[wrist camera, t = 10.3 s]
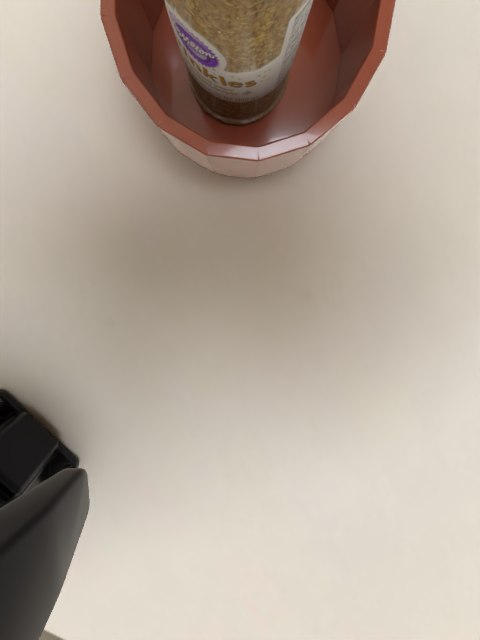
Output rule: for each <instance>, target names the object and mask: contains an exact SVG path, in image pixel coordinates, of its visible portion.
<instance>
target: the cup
mask: <svg viewBox="0 0 480 640" xmlns="http://www.w3.org/2000/svg"><path fill="white" fill-rule="evenodd" d="M395 1H396V0H313V3H312V6H311V9H310V12H309V15H308V18H307V21H306V24H305V27H304V31H303V34H302V37H301V40H300V43H299V46H298V49H297V52H296V55H295V58H294V61H293V63H292V65H291V68H290V70H289V77H288V82H287V86H286V88H285V90H284V93H283V96H282V99H281V100H280V101H279V103H278V104H277V105H276V106H275V108H274V109H273V110H272V111H271V112H270V113H269V114H267V115H266V116H264V117H263V118H261V119H260V120H258V121H256V122H253V123H250V124H247V125H236V124H227V123H224V122H222V121H220V120H217V119H215V118H213V117H212V116H211V115H210V114H208V113H207V112H206V111H205V110H204V109H203V108H202V107H201V105H200V103H199V102H198V100H197V99H196V97H195V95H194V94H193V91H192V88H191V86H190V83H189V79H188V71H187V69H188V68H187V67H186V65H185V63H184V60H183V57H182V55H181V52H180V49H179V46H178V43H177V40H176V37H175V34H174V30H173V27H172V24H171V21H170V18H169V15H168V12H167V8H166V5H165V0H101V14H100V15H101V20H102V23H103V26H104V29H105V32H106V35H107V38H108V41H109V44H110V48H111V51H112V54H113V57H114V60H115V63H116V66H117V69H118V72H119V75H120V78H121V79H122V82H123V83H124V84H125V85H126V87H127V88H128V89H129V91H130V92H131V93H132V94H133V96H134V97H135V98H136V100H137V101H138V102H139V103H140V105H141V106H142V107H143V109H144V110H145V111H146V112H147V114H148V115H149V116H150V118H151V119H152V120H153V121H154V123H155V124H156V125H157V127H158V128H159V129H160V130H161V131H162V132H163V133H164V135H165V136H166V137H167V138H168V139H169V140H170V141H171V143H172V144H173V145H174V146H175V147H176V148H177V150H178V151H179V152H181V154H183V155H185V156H186V157H188V158H190V159H191V160H193V161H194V162H196V163H197V164H199V165H201V166H203V167H205V168H207V169H209V170H210V171H212V172H214V173H217V174H222V175H228V176H233V177H251V178H253V177H258V176H263V175H267V174H272V173H274V172H277V171H279V170H282V169H284V168H288V167H291V166H292V165H294V164H295V163H296V162H297V161H298V160H300V159H301V158H302V157H303V156H305V155H306V154H307V153H308V152H309V151H310V150H312V149H313V148H314V147H315V146H316V145H318V144H319V143H320V142H321V141H322V140H323V139H324V138H325V137H326V136H327V135H328V134H329V133H330V132H331V131H333V130H334V129H335V128H336V127H337V126H338V125H339V124H340V123H341V122H342V121H343V120H344V119H345V118H346V117H347V116H348V115H349V114H350V113H351V112H352V111H353V109H354V108H355V107H356V105H357V104H358V102H359V100H360V98H361V96H362V95H363V93H364V91H365V89H366V88H367V86H368V84H369V82H370V81H371V79H372V77H373V75H374V74H375V72H376V70H377V68H378V66H379V65H380V63H381V61H382V59H383V58H384V56H385V53H386V49H387V44H388V38H389V33H390V28H391V22H392V17H393V11H394V6H395Z"/></svg>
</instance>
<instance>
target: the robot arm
mask: <svg viewBox="0 0 480 640" xmlns="http://www.w3.org/2000/svg"><path fill="white" fill-rule="evenodd" d="M0 399H1V400H2V402H0V640H39V638H40V636H41V634H42V632H43V629H44V627H45V625H46V623H47V621H48V618H49V616H50V614H51V612H52V610H53V608H54V605H55V603H56V601H57V598H58V596H59V594H60V591H61V589H62V586H63V583H64V580H65V578H66V575H67V572H68V569H69V566H70V563H71V560H72V558H73V555H74V552H75V549H76V546H77V543H78V540H79V537H80V535H81V532H82V529H83V526H84V523H85V520H86V517H87V514H88V510H89V490H88V478H87V473H86V471H85V470H84V469H82V468H77V467H78V465H79V463H78V460H77V459H76V458H75V457H74V456H73V455H72V454H71V453H70V452H69V451H68V450H67V449H66V448H65V447H64V446H63V445H62V444H61V443H60V442H59V441H57V440H56V439H55V438H54V437H53V436H52V435H51V434H50V433H49V432H48V431H47V430H46V429H45V428H44V427H43V426H42V425H41V424H40V423H39V422H38V421H37V420H35V419H34V418H33V417H32V416H31V415H30V414H29V413H28V412H27V411H26V410H25V409H24V408H23V407H22V406H21V405H20V404H19V403H18V402H17V401H16V400H14V399H13V398H12V397H11V396H10V395H9V394H8V393H7V392H5V391H3V390H0ZM66 463H67V464H70V465H71V466H72V467H70V466H68V465H67V464H66Z"/></svg>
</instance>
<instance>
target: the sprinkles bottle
mask: <svg viewBox="0 0 480 640" xmlns="http://www.w3.org/2000/svg"><path fill="white" fill-rule="evenodd" d="M312 3H313V0H165V5H166V8H167V12H168V15H169V18H170V21H171V24H172V27H173V30H174V34H175V37H176V40H177V43H178V46H179V49H180V52H181V55H182V57H183V60H184V63H185V65H186V67H187V68H188V69H187V71H188V79H189V83H190V86H191V88H192V91H193V94H194V95H195V97H196V99H197V100H198V102H199V103H200V105H201V107H202V108H203V109H204V110H205V111H206V112H207V113H208V114H210V115H211V116H212V117H213V118H215V119H217V120H220V121H222V122H224V123H227V124H236V125H247V124H250V123H253V122H256V121H258V120H260V119H261V118H263V117H264V116H266V115H267V114H269V113H270V112H271V111H272V110H273V109H274V108H275V106H276V105H277V104H278V103H279V101H280V100H281V99H282V96H283V93H284V90H285V88H286V86H287V82H288V77H289V70H290V68H291V65H292V63H293V61H294V58H295V55H296V52H297V49H298V46H299V43H300V40H301V37H302V34H303V31H304V27H305V24H306V21H307V18H308V15H309V12H310V9H311V6H312Z"/></svg>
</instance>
